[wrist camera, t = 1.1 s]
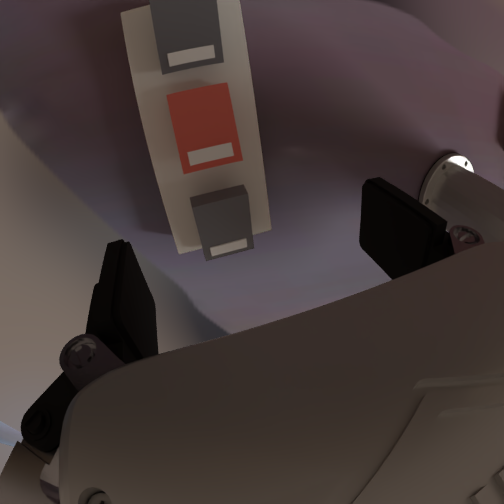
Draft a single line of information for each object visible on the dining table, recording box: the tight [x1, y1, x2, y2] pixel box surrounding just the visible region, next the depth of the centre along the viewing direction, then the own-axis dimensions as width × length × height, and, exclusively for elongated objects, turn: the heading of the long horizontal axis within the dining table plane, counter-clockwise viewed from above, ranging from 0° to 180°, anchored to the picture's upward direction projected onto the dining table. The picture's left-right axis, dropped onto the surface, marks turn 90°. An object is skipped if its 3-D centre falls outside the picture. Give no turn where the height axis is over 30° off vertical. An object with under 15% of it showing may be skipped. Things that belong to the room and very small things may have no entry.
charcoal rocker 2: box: [190, 184, 254, 261], centre depth 25 cm, size 4×6×2 cm
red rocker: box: [166, 82, 243, 174], centre depth 21 cm, size 4×6×2 cm
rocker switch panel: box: [121, 0, 272, 254], centre depth 23 cm, size 9×22×4 cm, turn 8°
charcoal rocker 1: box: [149, 0, 224, 75], centre depth 16 cm, size 4×6×2 cm
